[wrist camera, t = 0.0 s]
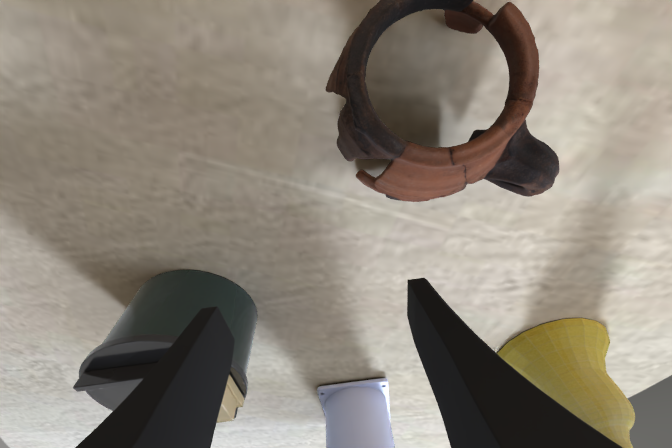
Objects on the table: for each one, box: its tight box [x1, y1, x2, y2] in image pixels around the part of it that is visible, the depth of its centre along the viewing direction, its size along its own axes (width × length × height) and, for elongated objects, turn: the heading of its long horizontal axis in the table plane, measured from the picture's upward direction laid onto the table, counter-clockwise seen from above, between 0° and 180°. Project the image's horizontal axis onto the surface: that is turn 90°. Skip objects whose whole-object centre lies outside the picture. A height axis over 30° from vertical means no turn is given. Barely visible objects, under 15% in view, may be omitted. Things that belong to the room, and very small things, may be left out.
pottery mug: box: [326, 0, 559, 202], centre depth 15 cm, size 12×10×8 cm
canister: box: [73, 270, 258, 418], centre depth 22 cm, size 11×11×8 cm
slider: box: [216, 374, 244, 423], centre depth 19 cm, size 4×5×2 cm
